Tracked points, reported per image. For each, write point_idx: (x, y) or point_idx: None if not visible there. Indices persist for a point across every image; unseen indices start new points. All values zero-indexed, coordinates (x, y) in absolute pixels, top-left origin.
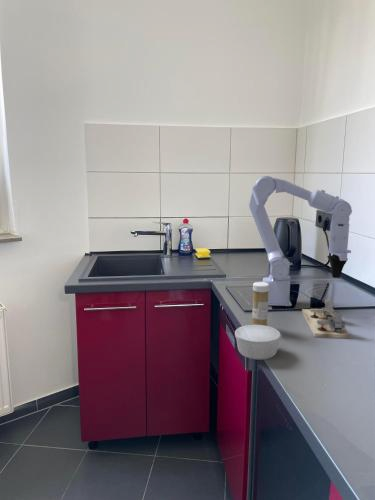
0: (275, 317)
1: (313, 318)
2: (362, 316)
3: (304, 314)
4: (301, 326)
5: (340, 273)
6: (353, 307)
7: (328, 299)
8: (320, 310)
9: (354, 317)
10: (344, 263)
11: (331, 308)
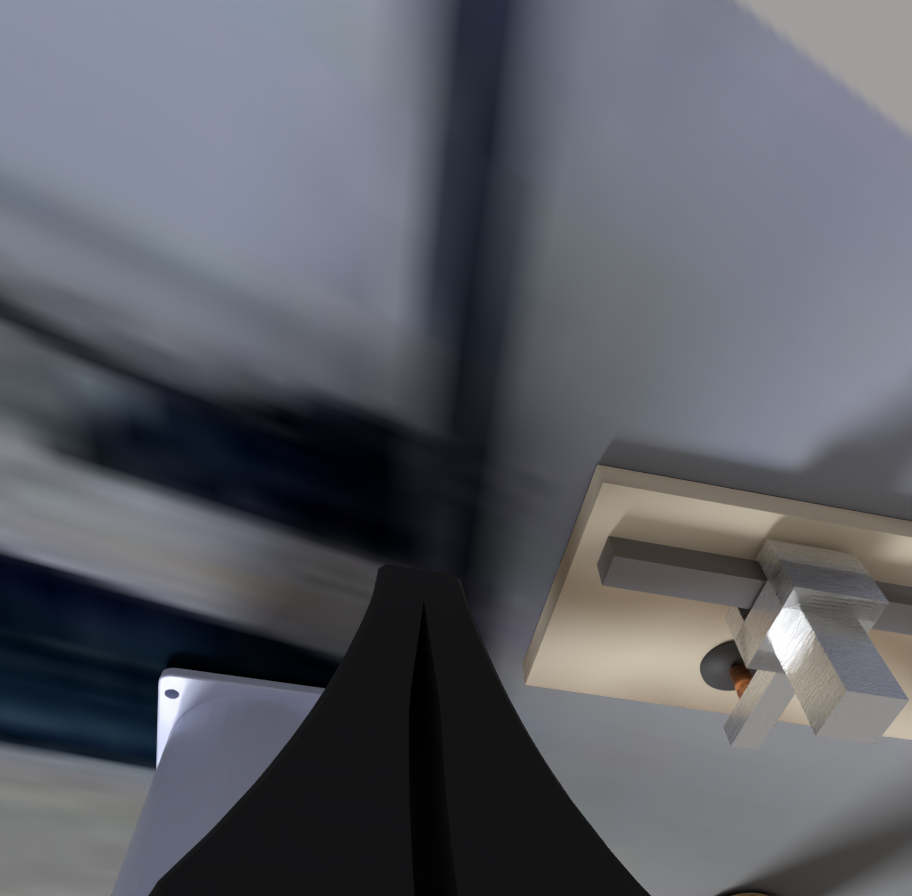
0: (598, 824)
1: None
2: (786, 176)
3: (632, 692)
4: (807, 745)
5: (476, 641)
6: (456, 109)
7: (831, 714)
8: (793, 690)
9: (782, 288)
10: (611, 869)
11: (864, 645)
